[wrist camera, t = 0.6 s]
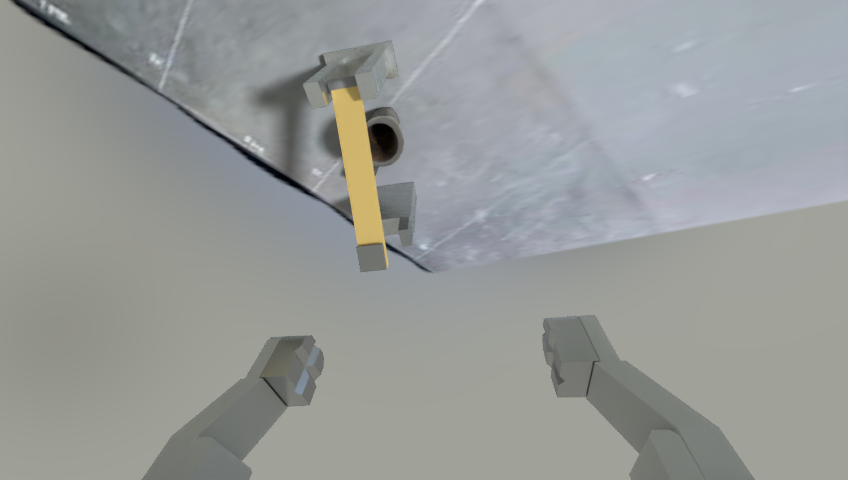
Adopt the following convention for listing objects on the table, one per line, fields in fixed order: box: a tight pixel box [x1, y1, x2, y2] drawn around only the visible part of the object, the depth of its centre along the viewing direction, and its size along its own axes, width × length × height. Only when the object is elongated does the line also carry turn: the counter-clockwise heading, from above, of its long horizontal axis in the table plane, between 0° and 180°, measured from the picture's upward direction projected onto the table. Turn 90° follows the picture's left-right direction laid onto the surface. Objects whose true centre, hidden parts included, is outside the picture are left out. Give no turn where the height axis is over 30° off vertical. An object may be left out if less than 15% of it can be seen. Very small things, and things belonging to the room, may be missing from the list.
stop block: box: [376, 182, 417, 246], centre depth 48 cm, size 3×7×13 cm, turn 99°
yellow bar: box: [327, 75, 389, 272], centre depth 34 cm, size 21×3×2 cm
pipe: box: [366, 107, 404, 175], centre depth 44 cm, size 6×13×8 cm, turn 154°
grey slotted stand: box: [303, 40, 398, 109], centre depth 35 cm, size 4×9×13 cm, turn 99°
